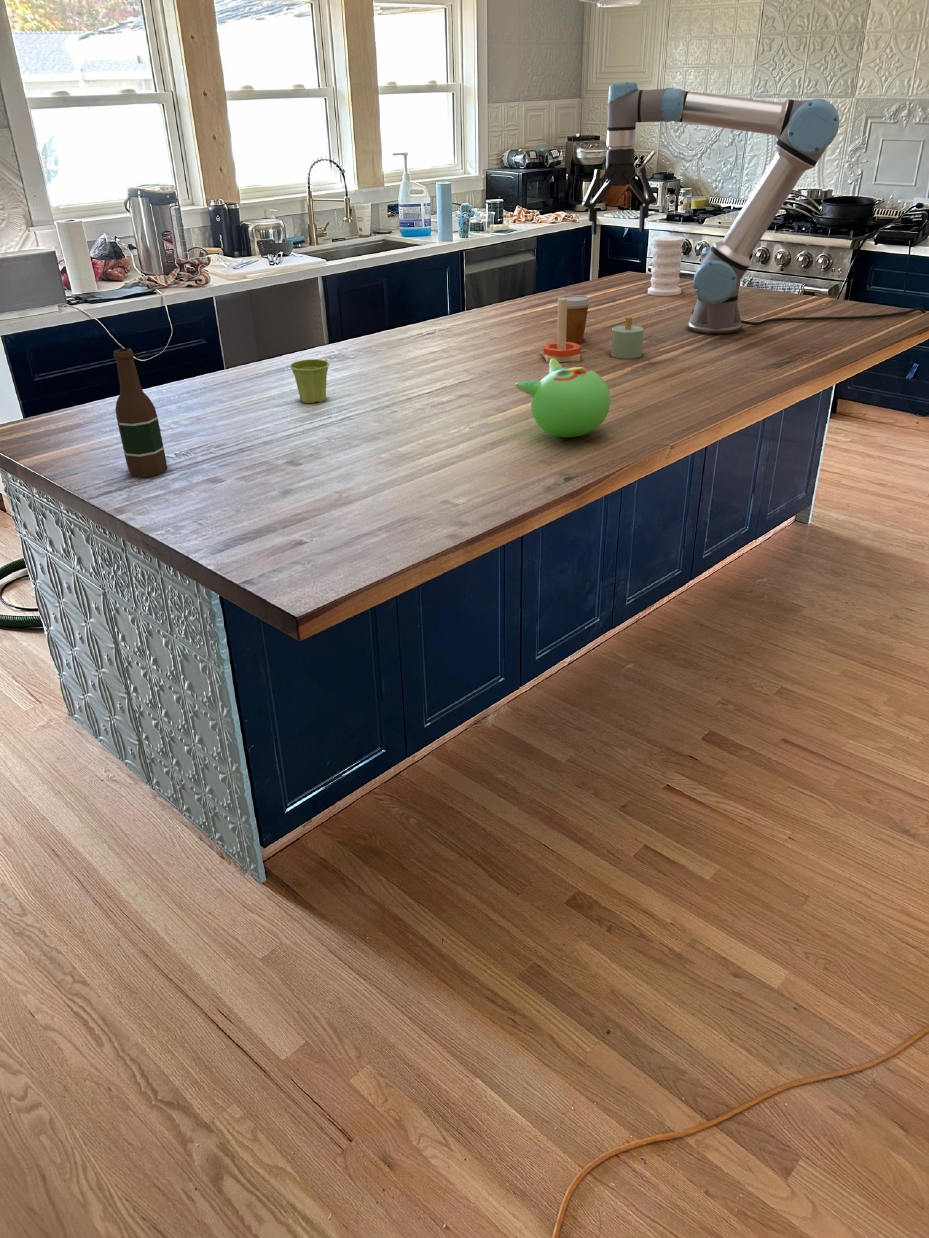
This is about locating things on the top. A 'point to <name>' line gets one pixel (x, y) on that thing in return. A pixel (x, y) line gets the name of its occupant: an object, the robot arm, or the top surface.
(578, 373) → the toy bird
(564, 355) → the ring
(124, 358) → the beer bottle
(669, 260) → the decorative container
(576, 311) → the disposable coffee cup
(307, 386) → the plant pot
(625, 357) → the green cylinder with peg
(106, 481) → the top surface
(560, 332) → the tall post
